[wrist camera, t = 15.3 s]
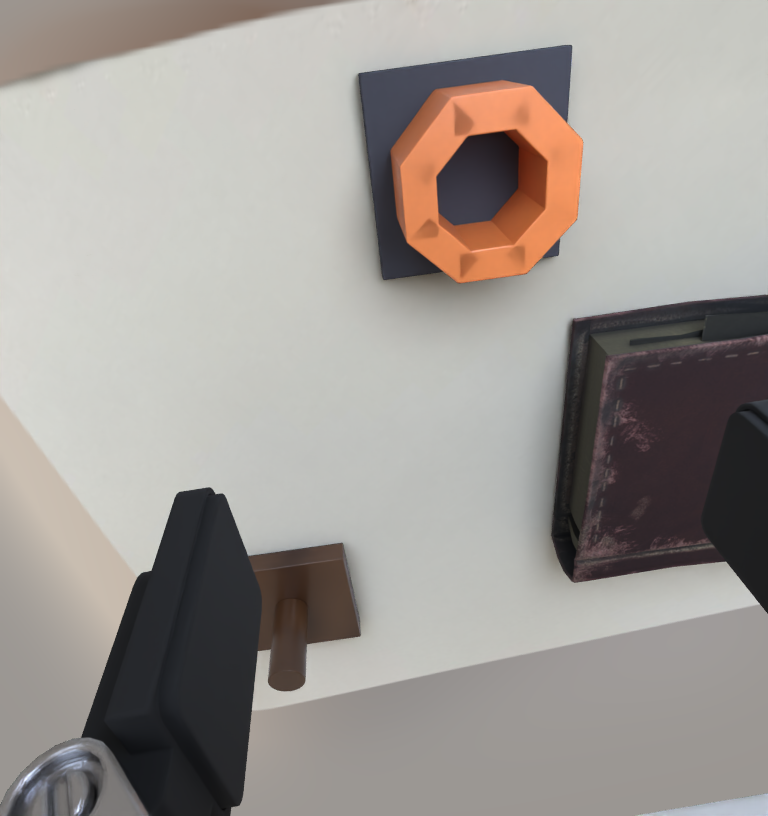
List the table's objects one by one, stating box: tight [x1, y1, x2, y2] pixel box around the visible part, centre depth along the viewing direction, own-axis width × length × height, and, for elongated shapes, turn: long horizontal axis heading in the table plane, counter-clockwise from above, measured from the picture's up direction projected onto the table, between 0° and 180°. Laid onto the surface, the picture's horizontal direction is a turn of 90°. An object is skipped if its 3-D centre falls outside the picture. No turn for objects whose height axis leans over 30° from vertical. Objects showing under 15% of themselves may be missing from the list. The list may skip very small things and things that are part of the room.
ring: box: [390, 80, 583, 283], centre depth 24 cm, size 7×7×4 cm
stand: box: [248, 543, 361, 691], centre depth 39 cm, size 9×9×7 cm
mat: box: [358, 45, 572, 280], centre depth 26 cm, size 9×9×1 cm
